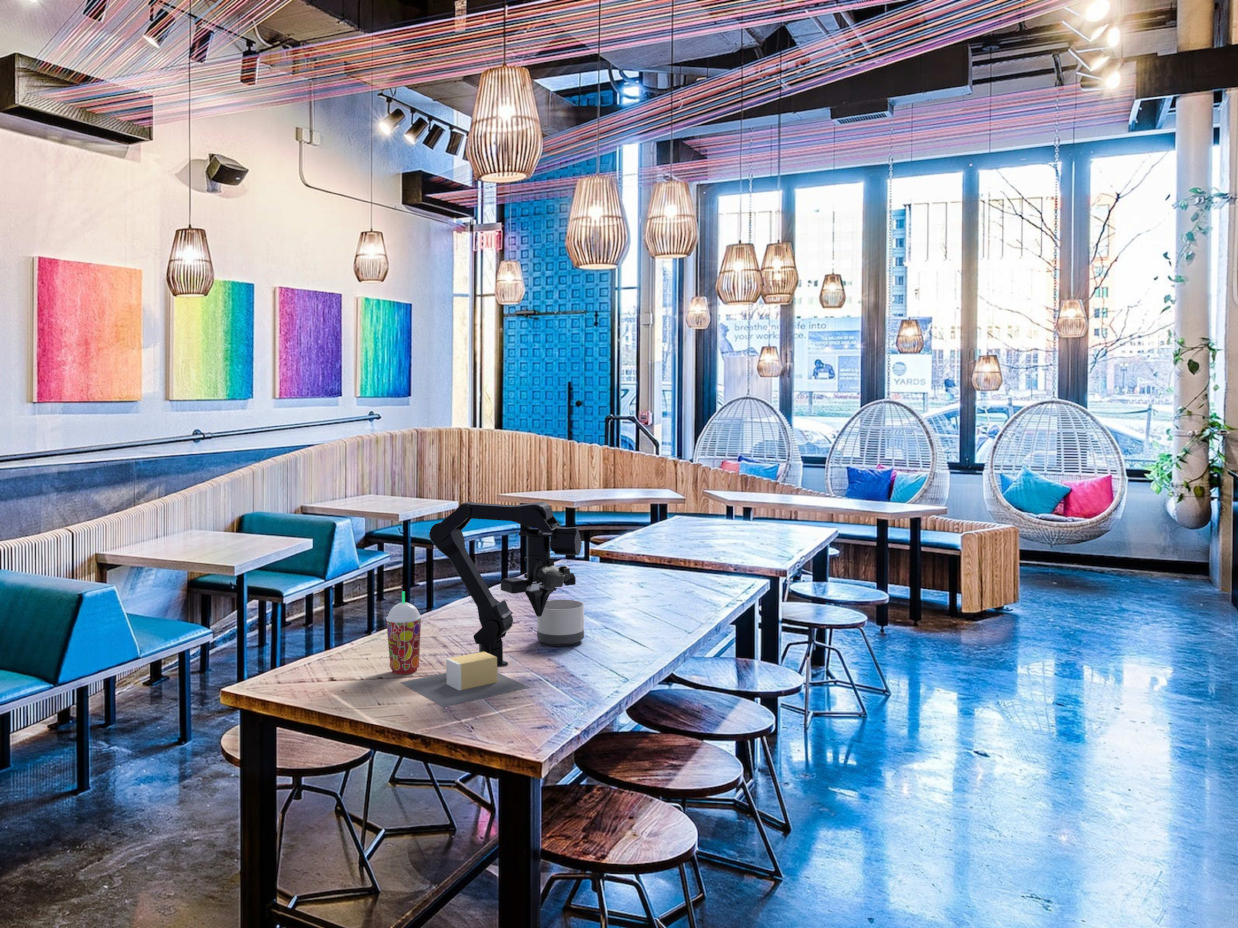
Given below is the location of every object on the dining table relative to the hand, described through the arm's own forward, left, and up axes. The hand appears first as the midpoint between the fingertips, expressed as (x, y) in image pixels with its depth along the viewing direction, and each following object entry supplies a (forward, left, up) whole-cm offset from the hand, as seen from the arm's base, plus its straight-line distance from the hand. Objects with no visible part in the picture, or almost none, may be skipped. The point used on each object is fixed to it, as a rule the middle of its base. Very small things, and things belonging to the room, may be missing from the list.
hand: (538, 616), depth 229 cm
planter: (-17, +18, -13) cm, 28 cm away
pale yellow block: (+2, -25, -10) cm, 27 cm away
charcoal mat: (+2, -22, -13) cm, 26 cm away
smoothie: (-17, -28, -13) cm, 35 cm away
